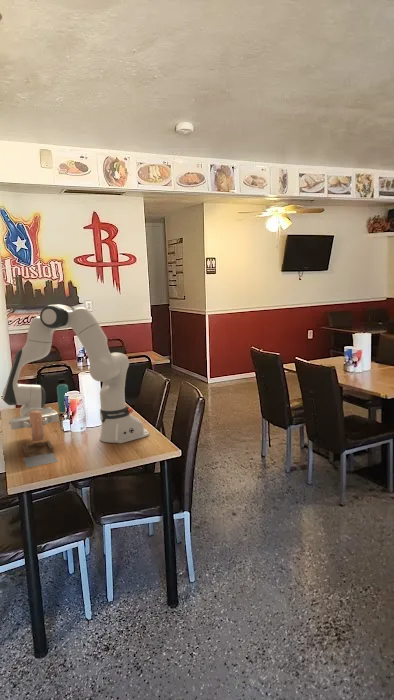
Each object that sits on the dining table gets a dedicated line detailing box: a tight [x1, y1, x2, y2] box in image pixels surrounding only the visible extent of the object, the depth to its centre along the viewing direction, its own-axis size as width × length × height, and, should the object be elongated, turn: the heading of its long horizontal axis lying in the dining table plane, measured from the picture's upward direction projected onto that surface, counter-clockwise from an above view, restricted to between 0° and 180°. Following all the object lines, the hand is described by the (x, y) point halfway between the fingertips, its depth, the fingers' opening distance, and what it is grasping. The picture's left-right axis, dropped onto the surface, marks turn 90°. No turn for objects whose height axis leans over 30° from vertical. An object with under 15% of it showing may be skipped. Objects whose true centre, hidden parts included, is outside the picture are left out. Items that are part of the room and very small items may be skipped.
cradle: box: [22, 440, 55, 458], centre depth 200 cm, size 11×11×2 cm
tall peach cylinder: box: [29, 410, 45, 442], centre depth 197 cm, size 5×8×12 cm, turn 26°
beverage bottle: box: [56, 378, 70, 413], centre depth 259 cm, size 6×7×20 cm
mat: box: [22, 452, 58, 469], centre depth 189 cm, size 12×12×1 cm
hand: (37, 424), depth 198 cm, fingers closed on tall peach cylinder, 5 cm apart
